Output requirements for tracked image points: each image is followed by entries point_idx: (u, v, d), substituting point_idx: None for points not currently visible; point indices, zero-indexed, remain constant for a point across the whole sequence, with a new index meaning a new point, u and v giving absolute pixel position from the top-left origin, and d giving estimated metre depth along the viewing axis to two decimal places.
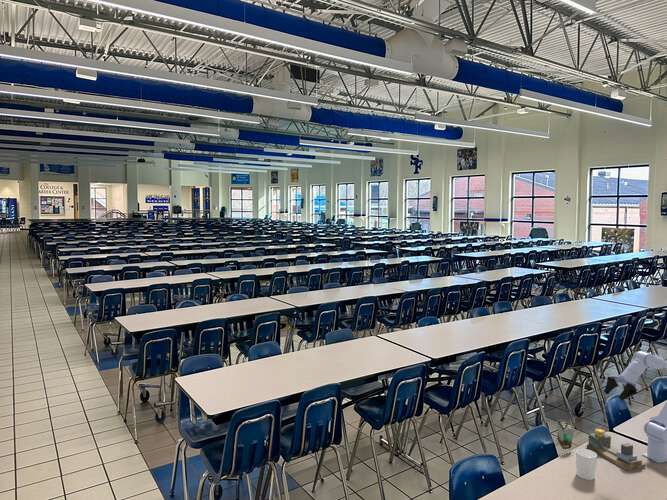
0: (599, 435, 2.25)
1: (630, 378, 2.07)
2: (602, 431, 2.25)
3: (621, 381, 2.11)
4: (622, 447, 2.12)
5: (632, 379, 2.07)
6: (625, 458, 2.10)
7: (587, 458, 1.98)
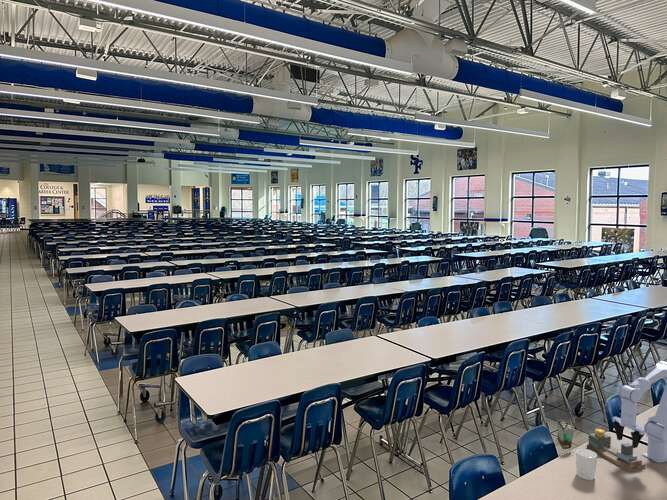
0: (599, 435, 2.25)
1: (630, 423, 2.09)
2: (602, 431, 2.25)
3: None
4: (622, 447, 2.12)
5: (632, 422, 2.08)
6: (625, 458, 2.10)
7: (587, 458, 1.98)
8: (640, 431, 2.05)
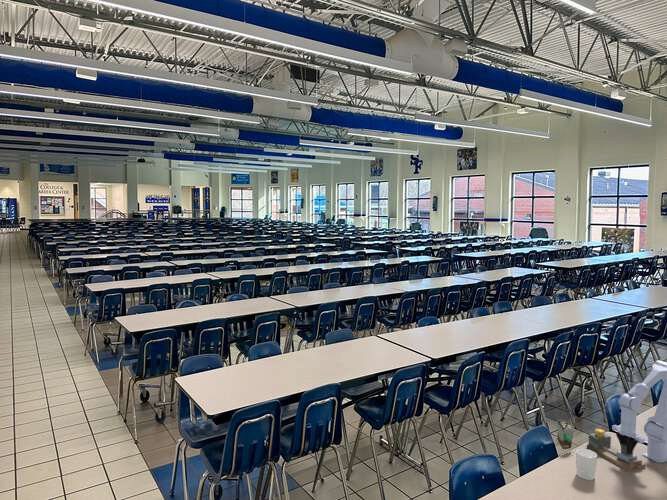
0: (599, 435, 2.25)
1: (630, 432, 2.09)
2: (602, 431, 2.25)
3: None
4: (622, 447, 2.12)
5: (632, 431, 2.09)
6: (625, 458, 2.10)
7: (587, 458, 1.98)
8: (640, 440, 2.05)
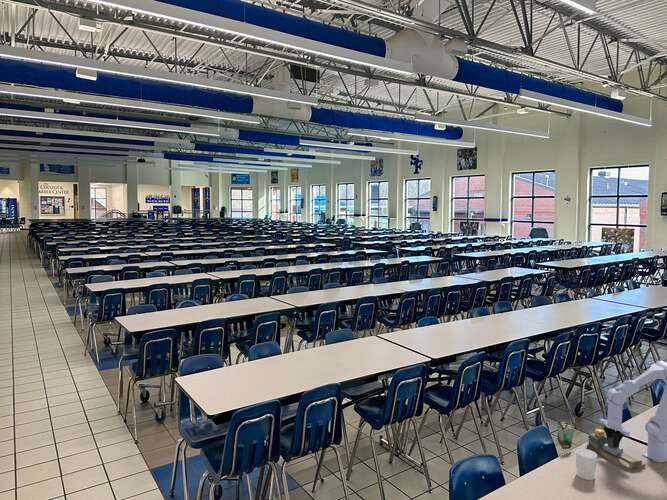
0: (599, 435, 2.25)
1: (616, 425, 2.15)
2: (602, 431, 2.25)
3: None
4: (609, 440, 2.19)
5: (618, 424, 2.15)
6: (611, 451, 2.17)
7: (587, 458, 1.98)
8: (625, 433, 2.12)
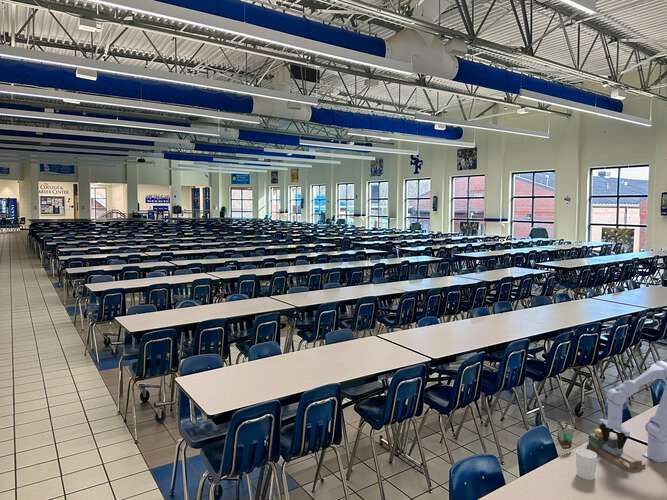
0: (599, 435, 2.25)
1: (616, 425, 2.15)
2: None
3: None
4: (609, 440, 2.19)
5: (618, 424, 2.15)
6: (611, 451, 2.17)
7: (587, 458, 1.98)
8: (625, 433, 2.12)
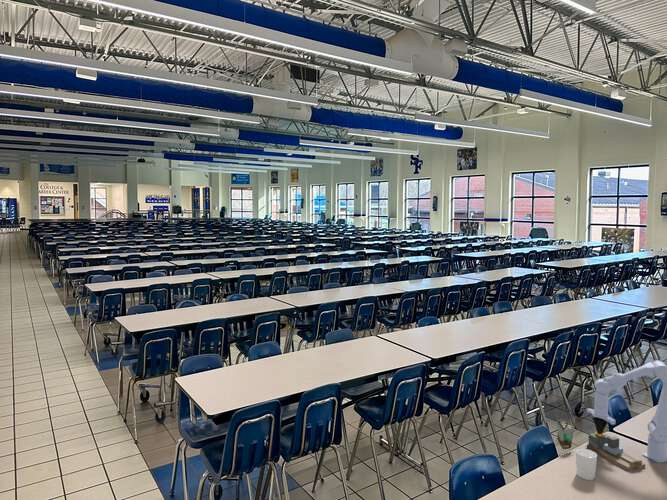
0: None
1: (602, 414, 2.22)
2: (602, 434, 2.25)
3: None
4: (609, 440, 2.19)
5: (604, 413, 2.22)
6: (611, 451, 2.17)
7: (587, 458, 1.98)
8: (611, 421, 2.19)
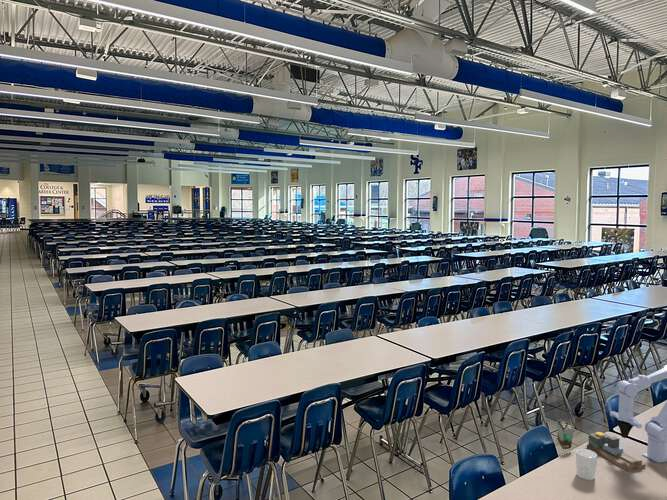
0: None
1: (628, 417, 2.13)
2: (602, 434, 2.25)
3: None
4: (609, 440, 2.19)
5: (630, 417, 2.13)
6: (611, 451, 2.17)
7: (587, 458, 1.98)
8: (637, 425, 2.09)
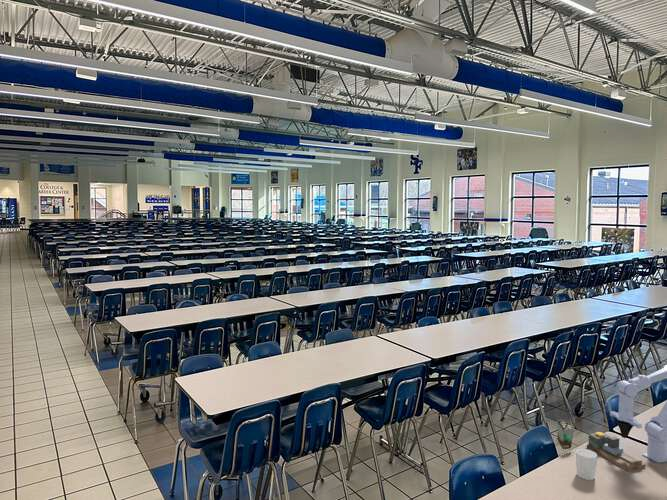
0: None
1: (628, 417, 2.13)
2: (602, 434, 2.25)
3: None
4: (609, 440, 2.19)
5: (630, 417, 2.13)
6: (611, 451, 2.17)
7: (587, 458, 1.98)
8: (637, 425, 2.09)
